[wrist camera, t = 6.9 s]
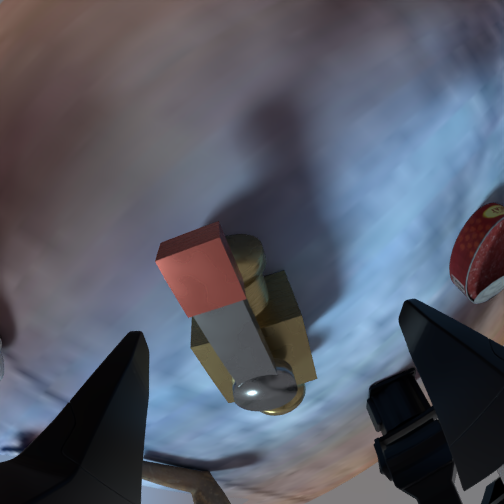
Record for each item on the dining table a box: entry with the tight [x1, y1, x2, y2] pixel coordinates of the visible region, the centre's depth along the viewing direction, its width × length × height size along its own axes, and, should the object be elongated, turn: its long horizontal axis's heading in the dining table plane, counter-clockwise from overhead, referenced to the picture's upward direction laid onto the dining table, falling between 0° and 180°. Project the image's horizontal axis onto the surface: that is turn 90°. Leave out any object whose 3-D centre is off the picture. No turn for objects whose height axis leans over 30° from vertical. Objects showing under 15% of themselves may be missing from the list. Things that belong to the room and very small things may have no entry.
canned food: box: [449, 203, 504, 304], centre depth 21 cm, size 11×10×10 cm
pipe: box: [142, 461, 231, 504], centre depth 34 cm, size 6×17×10 cm, turn 55°
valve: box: [191, 234, 317, 416], centre depth 21 cm, size 7×15×6 cm, turn 16°
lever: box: [155, 221, 298, 411], centre depth 15 cm, size 13×4×2 cm, turn 18°
